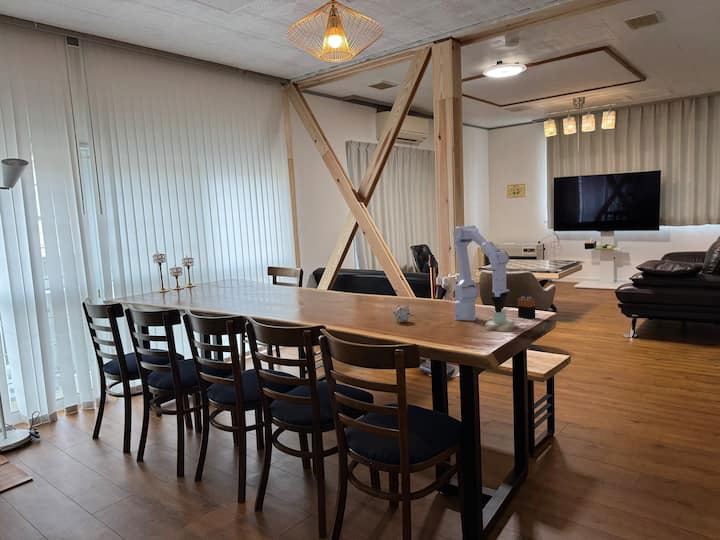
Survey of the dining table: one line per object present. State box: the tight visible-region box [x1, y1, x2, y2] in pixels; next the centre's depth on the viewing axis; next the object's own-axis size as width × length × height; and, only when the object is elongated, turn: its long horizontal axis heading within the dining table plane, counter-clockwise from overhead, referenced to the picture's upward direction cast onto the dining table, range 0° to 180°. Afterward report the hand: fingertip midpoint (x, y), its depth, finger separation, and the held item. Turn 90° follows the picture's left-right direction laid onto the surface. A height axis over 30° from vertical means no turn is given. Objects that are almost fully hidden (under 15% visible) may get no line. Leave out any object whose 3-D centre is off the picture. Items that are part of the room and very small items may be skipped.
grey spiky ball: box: [392, 304, 414, 324], centre depth 238 cm, size 9×8×10 cm
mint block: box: [493, 309, 507, 324], centre depth 219 cm, size 5×5×5 cm
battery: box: [517, 295, 536, 320], centre depth 236 cm, size 4×7×10 cm, turn 36°
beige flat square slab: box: [484, 318, 516, 332], centre depth 219 cm, size 11×11×3 cm
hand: (499, 310), depth 218 cm, fingers open, 7 cm apart
